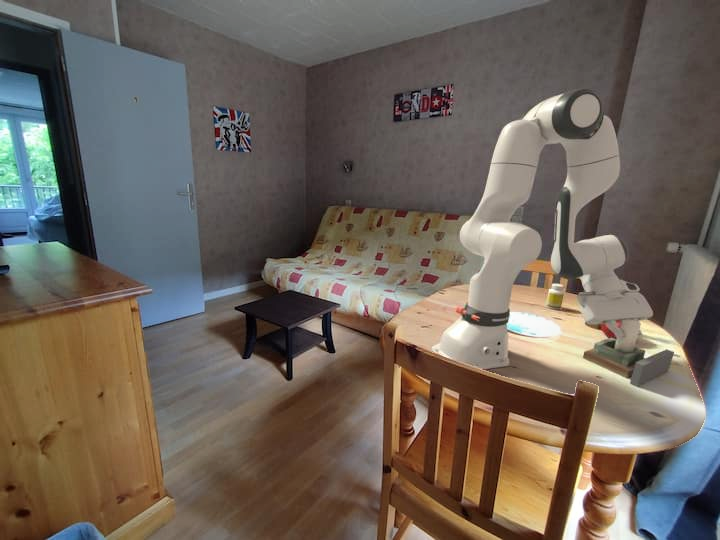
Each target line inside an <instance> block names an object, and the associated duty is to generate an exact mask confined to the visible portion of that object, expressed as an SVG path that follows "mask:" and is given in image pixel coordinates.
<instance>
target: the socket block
mask: <svg viewBox="0 0 720 540" xmlns="http://www.w3.org/2000/svg"><path fill="white" fill-rule="evenodd" d="M615 344H616V339H614V338H610V337H608V338H605V339H603V340H600V341H597V342H594V346H593V347H592V348H591V349H588V350H585V351H584V352H583V356H582V359H584V360H587V361H589V362H590V363H592V364H596V365H598V366H600V367H602V368H603V369H607V370H608V371H610V372H613V373H614V374H617V375H618V376H619V375H620V377H623V378H625V379H628V378H631V377H632V374H633V370H634V367H635V363H636V362H638V361H640V360H643V359H645V358H646V357H645V354H646V350H645V349H642V348H639V347H637V346H635V347H634V350H633V352H630V353H628V354H625V353H623V352H620V351H618V350H615V349H614V348H615Z"/></svg>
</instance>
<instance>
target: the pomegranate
mask: <svg viewBox="0 0 720 540" xmlns="http://www.w3.org/2000/svg"><path fill="white" fill-rule="evenodd" d="M616 323H617V324H616V325H617V326H618V327H619V328H620V325H621V322H616ZM601 332H602V333H603V334H604V335H605V336H606V337H608V338H614V339H616V340H617V337H616V336H615V334H614V332H612V331H611V330H610V329H609V328H607V326H606V325H605V323H602V324H601Z"/></svg>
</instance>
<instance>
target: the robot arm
mask: <svg viewBox="0 0 720 540" xmlns="http://www.w3.org/2000/svg"><path fill="white" fill-rule="evenodd" d="M554 144H561V145H562V146H563V148H564V150H565V155H566V166H567V173H566V175H567V176H566V177H565V178H566V179H565V182H564V184H563V187H562V188H561V189H560V190H558V192H557V195H556V198H555V205H554V206H555V207H554V221H553V236H552V237H553V238H552V239H553V240H552V247H551V252H550V266H551V270H552V271H553V273H554V274H555V275H556V276H558V277H560V278H563V279H565V280H568V281H572V280H575V279H580V280H581V285H582V289H583V290H584V292H583V291H582V292H578V294H577V295H576V300H577V302H578V307H579V310H580V312H581V313H580V314H581V315H582V318H583V320H584V323H585V322H587V323H588V324H602V323H605V325H606V326H607V328H609V329H610V330H611V331H612V332H614V334H615V336H616V337H617V338H623V337H626V334H625V332H624V330H621V329H620V328H619V327H618V326H617V325H616V324H617V323H616V322H621V321H622V319H631V320H635V321H638V322H640V321H645V320H647V319H650V318H652V317H653V315H654V311H653V310H652V308H651V306H650V304H649V302H648V301H647V299H646V297H645V296H644V295H643V294H642V293H640V292H639V291H640V290H641V289H640V287H639V286H638V285H637V284H636V283H631V282H628V281H625V280H623V279H619V277H618V276H617V275H616V273H615V272H614V270H615V269H618V268H620V267H622V266H623V265H625V263H627V261H628V260H629V257H630V250H629V246H628V245H627V244H626V242H625V241H624V240H623V239H622V238H621V237H619V236H617V235H614V234H607V235H606V234H605V235H601V236H596V237H593V238H588V239H582V240H579V241H577V242H575V229H576V218H577V215H578V213H579V212H580V211H581V209H582V208H583V207H585V206H586V205H587V204H588V203H590V202H591V201H593V200H594V199H595V198H597V197H599V196H601V195H603V194H604V193H606V192H607V191H608V190H610V188H611V187H612V186H613V185H614V184H615V183H616V181H617V180H618V178H619V176H620V171H621V160H620V152H619V151H620V150H619V149H620V148H619V142H618V138H617V134H616V131H615V128H614V124H613V121H612V120H611V118H610V117H609V116H607V115H605V112H604V106H603V103H602V100H601V98H600V96H599V95H598V93H597V92H596V91H594V90H592V89H589V88H576V89H571V90H568V91H566V92H565V93H561V94H559V95H555V96H554V95H553V96H551V97H549V98H547V99H545V100H542V101H541V102H540V103H538V104H535V105H533V106H531V107H530V108H528V109H527V110H526V111H525V112H524V113H523V115H521V117H520V119H516V120H514V121H513V120H512V121H511V122H508V123H507V124H506V125H504V127H502V129H501V131H500V134H499V136H498V139H497V142H496V144H495V147H494V151H493V153H492V158H491V162H490V166H489V169H488V170H489V171H488V175H487V179H486V184H485V189H484V191H483V195H482V198H481V200H480V202H479V204H478V206H477V208H476V210H475V211H474V213H473V214H472V216H471V218H470V219H468V220H466V222H465V223H463V225H462V227H461V229H460V231H459V241H460V244H461V245H462V246H463V247H464V248H466V249H467V250H468V251H469V252H470V253H472V254H473V255H477V256H480V257H483V258H484V261H483V263H482V264H483V265H482V266H481V269H480V270H479V272H478V273H477V272H476V273H475V274H473V275H472V277H471V278H470V281H469V289H468V297H467V302H466V304H465V305H464V307H462V306H459V305H458V306H456V308H455V313H457V314H458V315H461V316H460V317H459V318H458V319H456V321H454V323H452V324H451V325H450V326H449V327H448V328H447V329H445V330H444V331H443V333H442V335H441V339H440V342H439V343H436V344H434V345H432V347H431V352H432V351H433V352H435V353H438V354H440V355H442V356H444V357H447V358H450V359H453V360H456V361H460V362H463V363H466V364H469V365H472V366H476V367H478V368H482V369H483V370H490V369H494V368H495V369H497V368H500V367H501V368H503V367H509V366H510V364H511V363H510V359H509V354H508V353H509V332H508V327H507V325H508V323H509V319H510V316H511V315H510V312H511V311H510V310H511V309H510V303H511V296H512V292H513V291H512V290H513V287H514V283H515V281H516V278H517V277H518V276H519V274H520V273H521V271H522V270H523V269H524V268H525V267H527V266H529V265H531V264H532V263H534V262H535V261H536V259H538V257H539V256H540V254H541V251H542V248H543V247H542V246H543V242H542V241H543V240H542V237H541V235H540V233H539V232H538V231H537V230H536V229H533V228H531V227H530V226H527V225H525V224H523V223H520V222H515V221H511V220H512V217H513V215H514V213H515V212H516V211H517V210H518V208H519V207H521V206H523V205H524V204H525V203H527V202H528V201H529V199H530V197H531V195H532V194H531V192H532V190H533V185H534V182H535V178H536V172H537V168H538V165H539V164H538V163H539V160H540V154H541V152H542V150H543V149H544V147H545V146H546V145H554ZM641 336H643V332H642V330H641V329H639V332H638V336H637V337H641ZM433 352H432V353H433Z"/></svg>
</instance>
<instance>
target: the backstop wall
mask: <svg viewBox="0 0 720 540" xmlns="http://www.w3.org/2000/svg"><path fill="white" fill-rule="evenodd" d="M674 355H675V351H673V350H669V349H664V350H662V351H659V352H658V353H657V352H656V353H654V354H652V355H650V356H648V357H644V358H645V359H643V360H640V361H638V362H636V363H635V367H634V370H633V374H632V376H631V377H630V381H629V384H630V385H633V386H635V387H640V386H642V385H644V384H646V383H649V382H650V381H652V380H655V379H657V378H659V377H661V376H662V375H664V374H667V373H668V372H669V371H670V368H671V364H672V361H673V357H674Z"/></svg>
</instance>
